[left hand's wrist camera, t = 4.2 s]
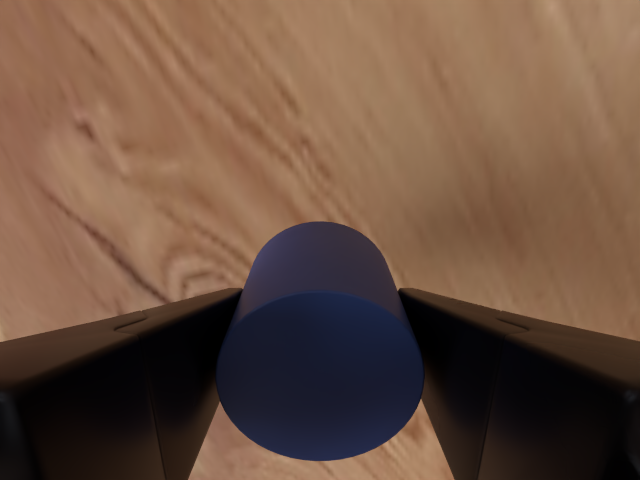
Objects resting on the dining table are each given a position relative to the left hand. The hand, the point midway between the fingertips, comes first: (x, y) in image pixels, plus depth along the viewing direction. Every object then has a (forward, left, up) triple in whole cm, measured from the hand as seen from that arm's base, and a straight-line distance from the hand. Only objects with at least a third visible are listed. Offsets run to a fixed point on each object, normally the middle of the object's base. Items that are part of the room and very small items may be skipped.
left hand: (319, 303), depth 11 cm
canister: (0, 0, -1) cm, 1 cm away
